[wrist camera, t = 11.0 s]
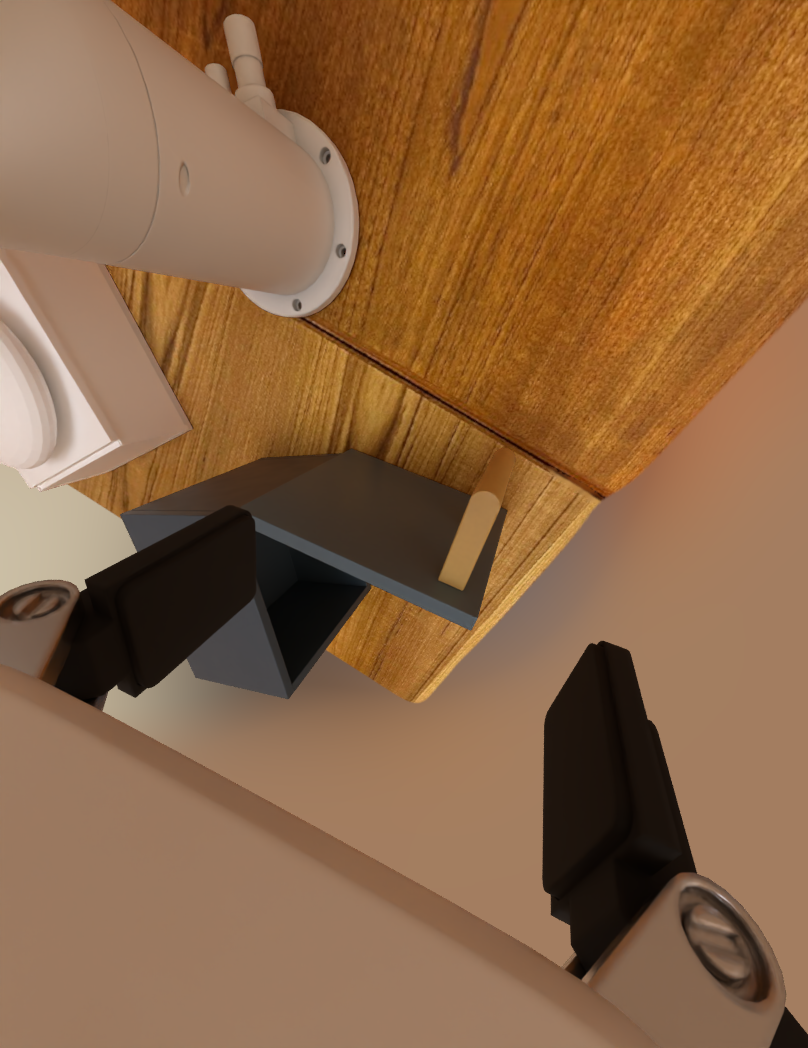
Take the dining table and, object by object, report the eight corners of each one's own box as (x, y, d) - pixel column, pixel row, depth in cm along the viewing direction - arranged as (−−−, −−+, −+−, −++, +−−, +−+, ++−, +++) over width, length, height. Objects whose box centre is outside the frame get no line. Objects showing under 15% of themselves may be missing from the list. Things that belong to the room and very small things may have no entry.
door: (364, 381, 33) (239, 406, 20) (538, 443, 30) (526, 520, 17) (349, 457, 36) (236, 522, 23) (503, 519, 33) (471, 631, 21)
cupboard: (344, 453, 36) (225, 516, 23) (371, 588, 42) (288, 699, 29) (262, 457, 40) (119, 514, 27) (298, 581, 46) (195, 677, 33)
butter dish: (111, 471, 49) (-54, 519, 36) (23, 329, 44) (-208, 323, 31) (194, 428, 42) (21, 470, 28) (98, 250, 36) (-169, 196, 23)
